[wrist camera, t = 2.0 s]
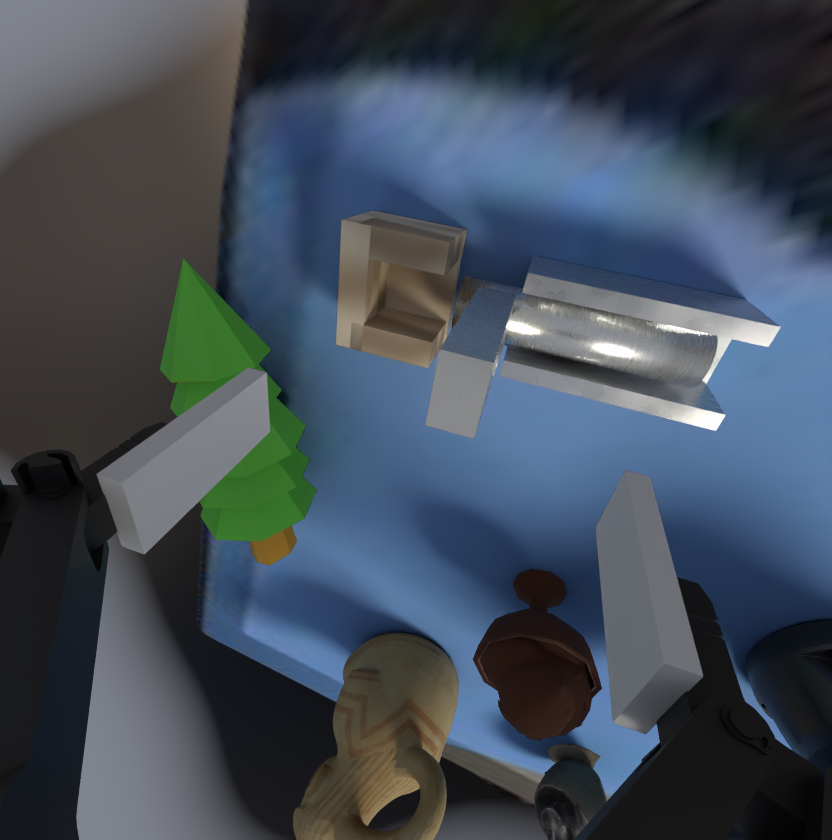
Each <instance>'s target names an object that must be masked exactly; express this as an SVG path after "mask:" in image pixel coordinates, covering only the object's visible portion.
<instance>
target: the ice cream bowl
mask: <svg viewBox="0 0 832 840" xmlns="http://www.w3.org/2000/svg"><path fill="white" fill-rule="evenodd" d="M513 585H514V589H515V591H516V593H517V596H518V598H519V599H521V600H522V601H524V602H525V603H527V604H528V605H530V610H529V609H525V610H521V611H517V612H513V613H510V614H506V615H504V616H501V617H499V618H497V619H495V620H494V622H493V623H492V624H491V625H490V627H489V628H488V630H487V632H486V633H485V635H484V637H483V638H482V640H481V642H480V644H479V645H478V648H477V650H476V653H475V655H474V658H473V661H474V663H475V665H476V667H477V669H478V671H479V673H480V675H481V677H482V679H483V681H484V682H485V683H486V684H488V685H489V686H491V687H493V688H494V689H496V690H497V691H498V693H499V698H500V701H499V700H498V706H499V708H500V711H501V713H502V715H503V716H504V718H505V719H506V720H507V721H508V722H509V723H510V724H511V725H512V726H513V727H514V728H515V729H516V730H517V731H518V732H519V733H521V734H524V735H526V737H527V738H529V739H532V740H541V739H543V738H551V737H555V736H561V735H566V734H568V733H569V732H571V731H572V730H573V729H575V728H576V727H579V726H581V724H582V722H583V721H584V719H585V718H586V716H587V714H588V712H589V711H590V707H591V701H592V698H593V697H594V696H595V695H596V694H597V693H598V692H599V691H600V690H601V689H602V687H601V683H600V679H599V676H598V672H597V669H596V666H595V663H594V660H593V657H592V654H591V651H590V648H589V646H588V644H587V643H586V641H585V639H584V637H583V636H582V635H581V634H580V633H578V632H577V631H576V630H575V629H573V628H572V627H571V626H569V625H568V624H566V623H565V622H563V621H562V620H560V619H559V618H557V617H556V616H554V615H553V614H551V613H547V608H550V607H554V606H558V605H560V603H561V602H562V600H563V599H564V598H565V596H566V594H567V591H566V588H565V585H564V582H563V581H562V580H561V579H559V578H558V577H557V576H555V575H554V574H552V573H551V572H547V571H541V570H535V569H531V570H528V571H525V572H522V573H519V574H518V575H517V577H516V579H515V580H514V582H513Z"/></svg>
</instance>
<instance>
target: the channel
mask: <svg viewBox="0 0 832 840" xmlns="http://www.w3.org/2000/svg"><path fill="white" fill-rule="evenodd" d="M522 293H526V294H530V295H535V296H540V297H544V298H549V299H553V300H558V301H562V302H567V303H571V304H576V305H580V306H585V307H589V308H594V309H598V310H603V311H607V312H612V313H616V314H621V315H625V316H630V317H634V318H639V319H643V320H648V321H652V322H657V323H662V324H666V325H671V326H675V327H680V328H684V329H689V330H693V331H698V332H702V333H707V334H711V335H716V336H717V338H718V344H717V350H716V354H715V358H714V360H713V363H712V365H711V367H710V369H709V371H708V373H707V375H706V376H705V378H704V379H703V380H702V381H701V382H700V383H699V384H698V385H697V386H696V387H694V388H687V387H683V386H679V385H675V384H671V383H666V382H662V381H658V380H654V379H650V378H646V377H642V376H637V375H633V374H629V373H625V372H621V371H617V370H613V369H608V368H604V367H600V366H596V365H592V364H588V363H584V362H579V361H575V360H571V359H567V358H563V357H559V356H555V355H550V354H546V353H542V352H538V351H534V350H530V349H525V348H521V347H517V346H513V345H509V344H508V347H507V350H506V354H505V357H504V361H503V364H502V368H501V372H500V375H499V376H502V377H506V378H510V379H514V380H517V381H521V382H525V383H529V384H533V385H537V386H541V387H545V388H549V389H553V390H557V391H561V392H565V393H569V394H573V395H577V396H581V397H584V398H588V399H592V400H596V401H600V402H604V403H608V404H612V405H616V406H620V407H624V408H628V409H632V410H636V411H640V412H644V413H648V414H652V415H655V416H659V417H663V418H667V419H671V420H675V421H679V422H683V423H687V424H691V425H695V426H699V427H703V428H707V429H711V430H715V431H716V429H717V428H718V426H719V425H720V423H721V421H722V420H723V418H724V417H725V413H724V412H723V410H722V409H721V407H720V405H719V404H718V402H717V401H716V399H715V397H714V396H713V394H712V392H711V391H710V389H709V388H708V386H707V384H706V383H707V381H708V380H709V378H710V376H711V375H712V373H713V371H714V369H715V368H716V366H717V364H718V362H719V361H720V359H721V357H722V355H723V354H724V352H725V350H726V348H727V347H728V345H729V343H730V341H731V340H732V339H734V340H738V341H743V342H747V343H752V344H756V345H761V346H765V347H769V345H770V343H771V342H772V340H773V339H774V337H775V336H776V334H777V332H778V331H779V329H780V328H781V327H780V326H779V325H778V324H776V323H775V322H774V321H773V320H771V319H770V318H769V317H768V316H766V315H765V314H764V313H763V312H761V311H760V310H759V309H758V308H756V307H755V306H754V305H753V304H751V303H750V302H749V301H748V300H746V299H741V298H736V297H731V296H727V295H722V294H717V293H712V292H707V291H702V290H698V289H693V288H688V287H683V286H678V285H673V284H669V283H664V282H659V281H654V280H649V279H644V278H640V277H635V276H630V275H625V274H620V273H615V272H611V271H606V270H601V269H596V268H591V267H586V266H582V265H577V264H572V263H567V262H562V261H557V260H553V259H548V258H543V257H538V256H533V257H532V260H531V264H530V267H529V270H528V274H527V277H526V281H525V285H524V288H523V292H522Z"/></svg>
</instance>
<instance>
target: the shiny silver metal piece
mask: <svg viewBox="0 0 832 840" xmlns="http://www.w3.org/2000/svg"><path fill="white" fill-rule="evenodd" d="M522 292H523V288H518V287H514V286H509V285H505V284H500V283H495V282H491V281H486V280H482V279H477V278H473V277H468V276H465V277H464V279H463V281H462V283H461V286H460V289H459V292H458V296H457V300H456V304H455V308H454V313H453V319H452V330H451V332H450V334H449V335H448V337H447V338H446V340H445V341H444V343H443V345H442V346H441V348H440V350H439V355H438V361H437V366H436V371H435V377H434V382H433V388H432V393H431V399H430V404H429V409H428V415H427V420H426V426H430V427H434V428H437V429H441V430H444V431H448V432H452V433H455V434H459V435H462V436H466V437H469V438H473V439H474V438H475V434H476V431H477V428H478V425H479V422H480V418H481V415H482V412H483V409H484V406H485V403H486V399H487V396H488V393H489V390H490V387H491V383H492V380H493V377H494V374H495V371H496V367H497V364H498V361H499V358H500V355H501V351H502V348H503V344H504V343H505V344H509V345H513V346H517V347H521V348H525V349H530V350H534V351H538V352H542V353H546V354H550V355H555V356H559V357H563V358H567V359H571V360H575V361H579V362H584V363H588V364H592V365H596V366H600V367H604V368H608V369H613V370H617V371H621V372H625V373H629V374H633V375H637V376H642V377H646V378H650V379H654V380H658V381H662V382H666V383H671V384H675V385H679V386H683V387H687V388H694V387H696V386H697V385H698V384H699V383H700V382H701V381H702V380H703V379H704V378H705V376H706V375H707V373H708V371H709V369H710V367H711V365H712V363H713V360H714V358H715V354H716V350H717V344H718V338H717V336H716V335H711V334H707V333H702V332H698V331H693V330H689V329H684V328H680V327H675V326H671V325H666V324H662V323H657V322H652V321H648V320H643V319H639V318H634V317H630V316H625V315H621V314H616V313H612V312H607V311H603V310H598V309H594V308H589V307H585V306H580V305H576V304H571V303H567V302H562V301H558V300H553V299H549V298H544V297H540V296H535V295H530V294H526V293H522Z"/></svg>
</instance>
